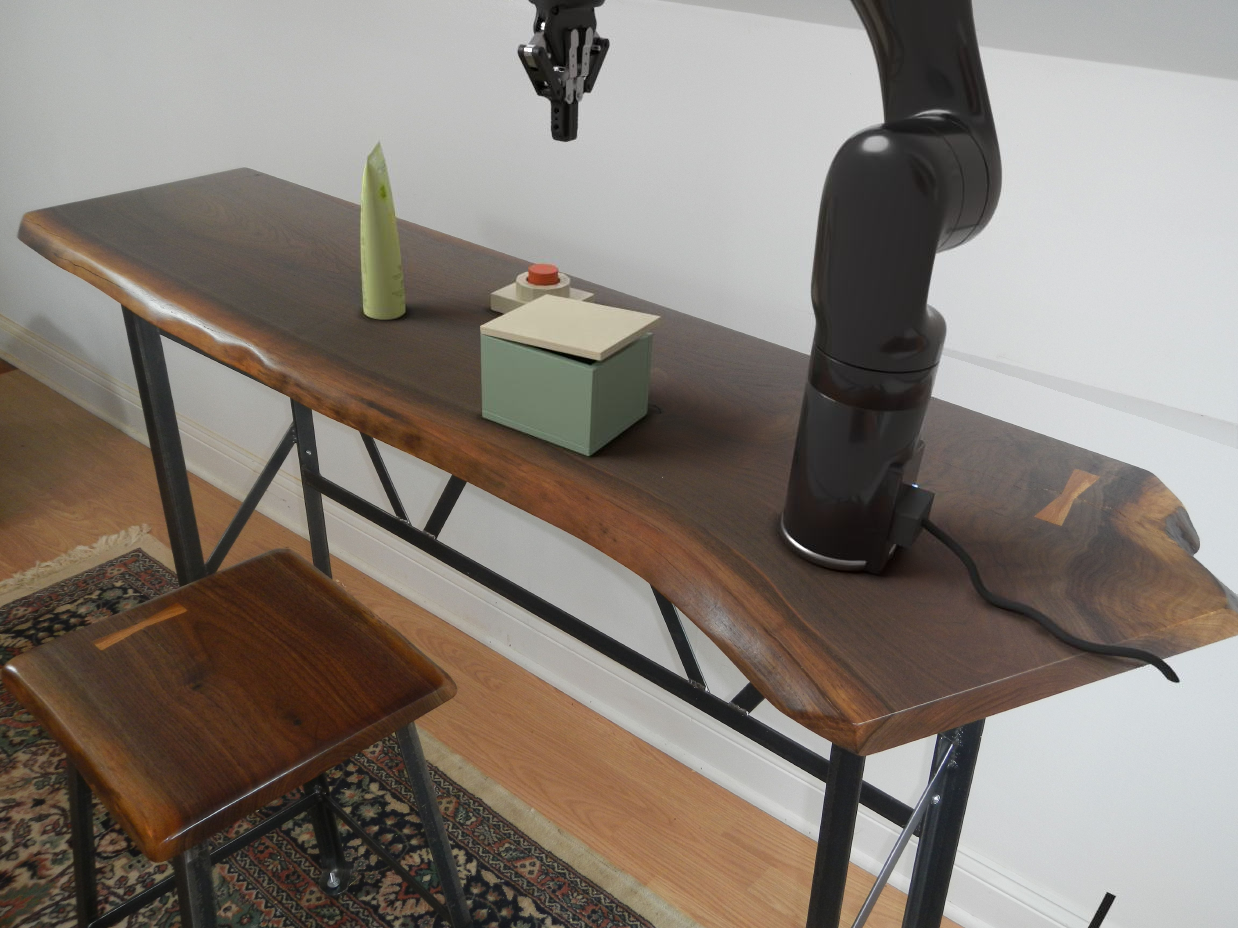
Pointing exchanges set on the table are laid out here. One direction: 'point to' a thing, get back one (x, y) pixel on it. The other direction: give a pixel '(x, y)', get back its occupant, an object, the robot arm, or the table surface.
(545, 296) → the lid
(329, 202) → the table surface
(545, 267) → the button
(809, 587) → the table surface
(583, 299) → the button box
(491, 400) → the chest
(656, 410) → the table surface
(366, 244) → the tube
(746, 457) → the table surface
